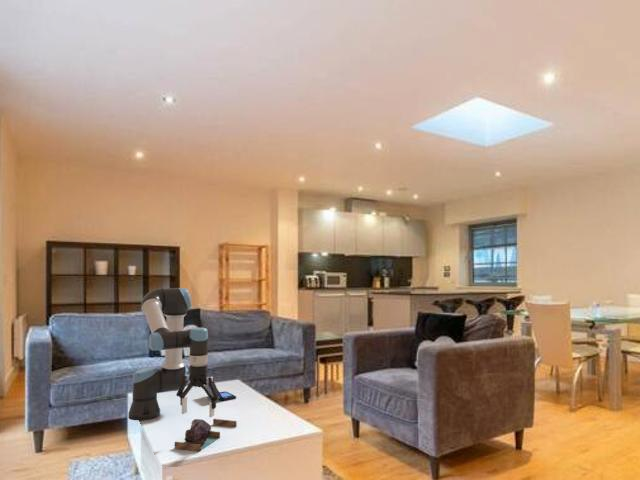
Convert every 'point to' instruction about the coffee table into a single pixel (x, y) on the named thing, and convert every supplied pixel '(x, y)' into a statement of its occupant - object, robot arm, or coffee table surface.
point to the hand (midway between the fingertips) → (197, 414)
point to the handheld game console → (225, 395)
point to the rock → (198, 432)
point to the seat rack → (212, 434)
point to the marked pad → (206, 442)
